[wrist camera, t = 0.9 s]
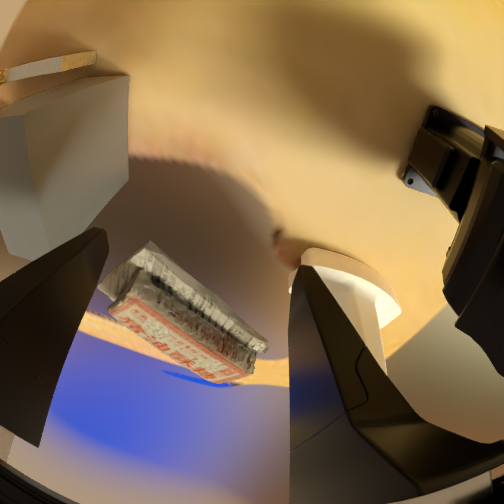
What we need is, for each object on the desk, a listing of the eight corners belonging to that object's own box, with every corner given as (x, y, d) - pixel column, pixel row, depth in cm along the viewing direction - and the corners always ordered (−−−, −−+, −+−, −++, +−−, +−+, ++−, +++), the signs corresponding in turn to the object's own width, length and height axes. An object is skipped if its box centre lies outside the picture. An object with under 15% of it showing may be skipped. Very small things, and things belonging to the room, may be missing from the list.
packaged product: (270, 376, 29) (205, 392, 33) (272, 339, 33) (211, 360, 37) (129, 273, 21) (81, 312, 25) (150, 235, 25) (100, 279, 29)
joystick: (404, 288, 26) (452, 493, 10) (354, 329, 30) (371, 512, 15) (317, 237, 23) (339, 527, 7) (267, 293, 27) (251, 522, 12)
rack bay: (96, 49, 14) (15, 65, 8) (100, 195, 22) (48, 257, 16) (9, 67, 14) (-61, 95, 8) (22, 186, 21) (-29, 235, 15)
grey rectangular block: (129, 75, 15) (23, 114, 8) (128, 179, 20) (56, 267, 13) (77, 78, 15) (-29, 122, 7) (82, 174, 20) (5, 252, 12)
